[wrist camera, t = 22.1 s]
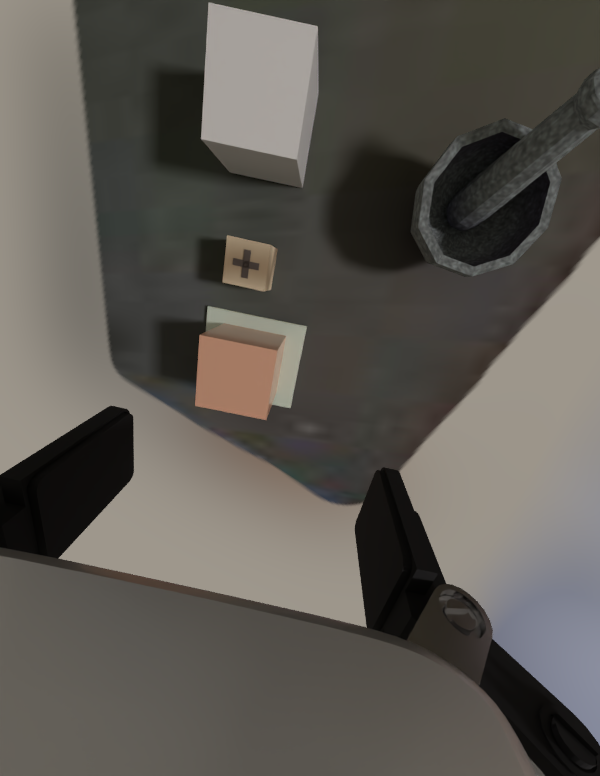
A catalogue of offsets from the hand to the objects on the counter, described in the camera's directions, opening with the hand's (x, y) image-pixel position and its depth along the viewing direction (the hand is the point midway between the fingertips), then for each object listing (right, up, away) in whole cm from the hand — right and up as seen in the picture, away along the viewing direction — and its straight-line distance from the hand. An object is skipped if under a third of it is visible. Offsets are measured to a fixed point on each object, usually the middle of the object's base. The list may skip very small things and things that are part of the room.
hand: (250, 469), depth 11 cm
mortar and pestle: (+16, +20, +16) cm, 30 cm away
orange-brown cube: (-4, +6, +22) cm, 23 cm away
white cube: (-1, +26, +15) cm, 30 cm away
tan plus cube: (-3, +16, +19) cm, 25 cm away
